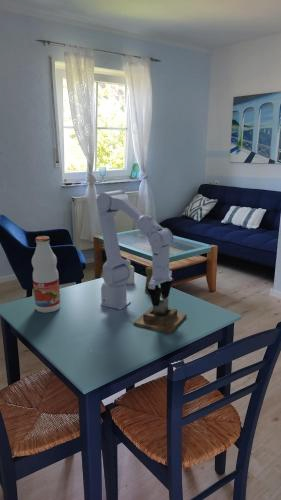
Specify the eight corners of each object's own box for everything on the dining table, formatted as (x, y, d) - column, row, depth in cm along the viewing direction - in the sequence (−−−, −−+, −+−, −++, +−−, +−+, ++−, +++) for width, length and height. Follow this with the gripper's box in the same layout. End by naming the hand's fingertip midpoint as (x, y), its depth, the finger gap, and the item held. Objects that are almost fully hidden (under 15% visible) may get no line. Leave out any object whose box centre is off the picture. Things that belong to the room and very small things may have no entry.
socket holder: (133, 324, 132) (133, 315, 131) (151, 309, 144) (151, 300, 143) (170, 333, 126) (170, 324, 125) (186, 317, 137) (186, 308, 136)
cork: (157, 294, 158) (157, 269, 155) (143, 293, 159) (143, 268, 156) (159, 289, 163) (160, 265, 160) (146, 288, 164) (146, 264, 161)
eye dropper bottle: (130, 285, 168) (129, 259, 164) (120, 283, 171) (119, 257, 167) (135, 282, 171) (135, 257, 168) (125, 280, 174) (125, 255, 171)
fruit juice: (64, 304, 149) (60, 235, 141) (53, 314, 140) (47, 241, 133) (43, 301, 152) (37, 233, 144) (30, 311, 143) (23, 239, 135)
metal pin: (153, 319, 134) (153, 298, 131) (157, 314, 137) (158, 294, 135) (163, 321, 132) (163, 300, 130) (168, 317, 135) (168, 296, 133)
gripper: (162, 272, 121) (162, 311, 125) (180, 260, 133) (179, 296, 137) (142, 269, 124) (143, 307, 128) (161, 257, 136) (161, 292, 140)
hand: (160, 301), depth 133 cm, fingers open, 7 cm apart
